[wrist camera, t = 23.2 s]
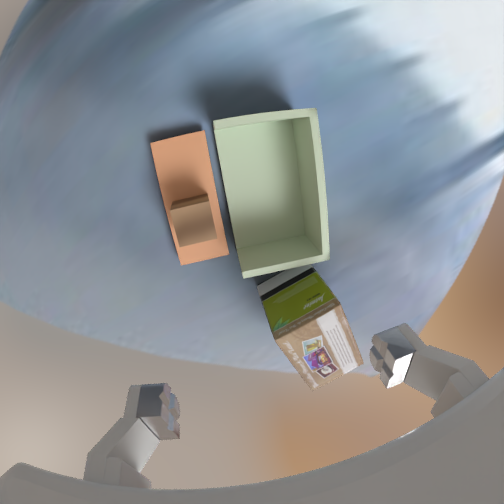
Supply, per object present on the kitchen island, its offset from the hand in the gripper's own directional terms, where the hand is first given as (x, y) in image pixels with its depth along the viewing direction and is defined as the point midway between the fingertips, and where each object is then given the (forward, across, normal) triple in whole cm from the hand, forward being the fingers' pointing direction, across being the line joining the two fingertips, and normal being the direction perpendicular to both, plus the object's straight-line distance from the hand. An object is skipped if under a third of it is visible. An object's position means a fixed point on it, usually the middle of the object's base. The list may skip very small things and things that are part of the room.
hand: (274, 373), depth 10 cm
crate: (+33, -6, 0) cm, 34 cm away
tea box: (+33, -9, +22) cm, 41 cm away
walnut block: (+31, +5, +2) cm, 32 cm away
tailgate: (+32, +1, 0) cm, 32 cm away
